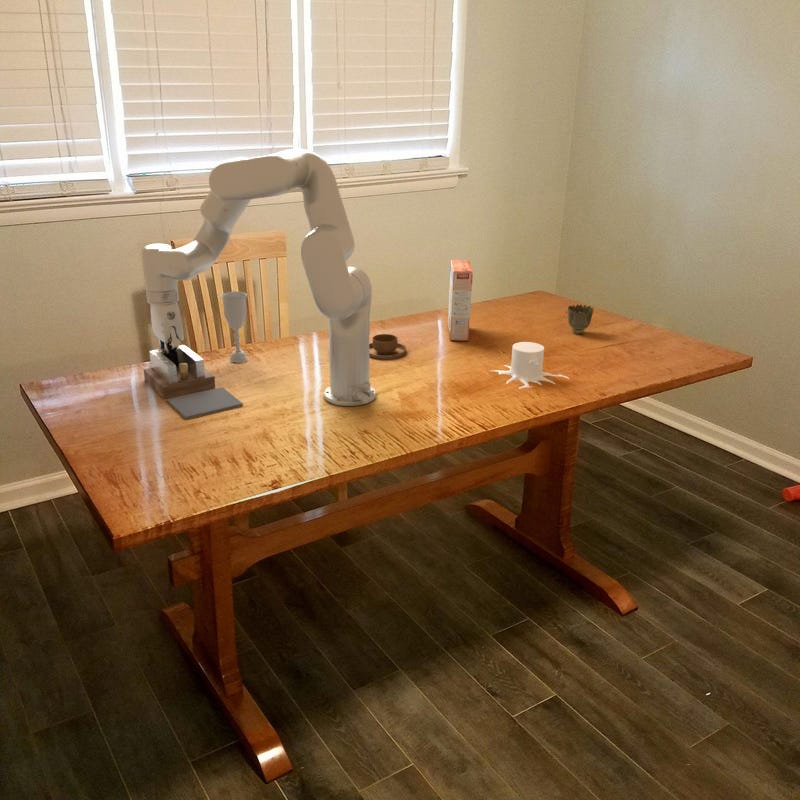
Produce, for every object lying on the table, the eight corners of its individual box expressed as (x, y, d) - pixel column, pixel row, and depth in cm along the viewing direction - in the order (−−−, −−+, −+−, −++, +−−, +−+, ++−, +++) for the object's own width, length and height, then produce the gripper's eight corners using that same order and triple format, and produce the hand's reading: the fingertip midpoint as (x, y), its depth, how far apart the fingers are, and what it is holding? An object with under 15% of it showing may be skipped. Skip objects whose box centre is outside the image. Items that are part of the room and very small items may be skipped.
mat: (242, 405, 188) (242, 403, 187) (185, 419, 180) (185, 416, 180) (222, 389, 197) (222, 386, 196) (167, 401, 189) (166, 399, 189)
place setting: (385, 368, 213) (386, 347, 211) (325, 354, 222) (324, 334, 220) (418, 349, 227) (419, 329, 224) (360, 337, 236) (360, 318, 234)
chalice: (245, 365, 212) (241, 299, 205) (221, 363, 213) (216, 298, 206) (255, 356, 218) (251, 292, 211) (232, 354, 220) (227, 290, 212)
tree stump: (502, 392, 198) (504, 362, 195) (480, 365, 215) (482, 336, 212) (578, 388, 201) (581, 358, 198) (550, 361, 219) (553, 333, 216)
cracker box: (469, 341, 232) (473, 271, 223) (449, 341, 232) (452, 270, 223) (466, 326, 245) (470, 259, 236) (447, 326, 245) (449, 259, 236)
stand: (215, 387, 198) (213, 362, 195) (164, 398, 191) (161, 373, 188) (194, 370, 208) (191, 346, 205) (144, 380, 201) (141, 356, 199)
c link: (205, 376, 196) (203, 359, 194) (169, 384, 191) (167, 366, 190) (185, 360, 206) (184, 344, 204) (151, 367, 201) (149, 350, 199)
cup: (565, 328, 244) (567, 303, 241) (589, 329, 243) (592, 304, 240) (566, 336, 237) (568, 310, 234) (591, 337, 236) (594, 311, 233)
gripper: (189, 300, 191) (196, 372, 199) (165, 285, 203) (173, 353, 211) (158, 305, 187) (166, 378, 195) (136, 290, 199) (145, 359, 207)
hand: (170, 364), depth 203 cm, fingers closed
